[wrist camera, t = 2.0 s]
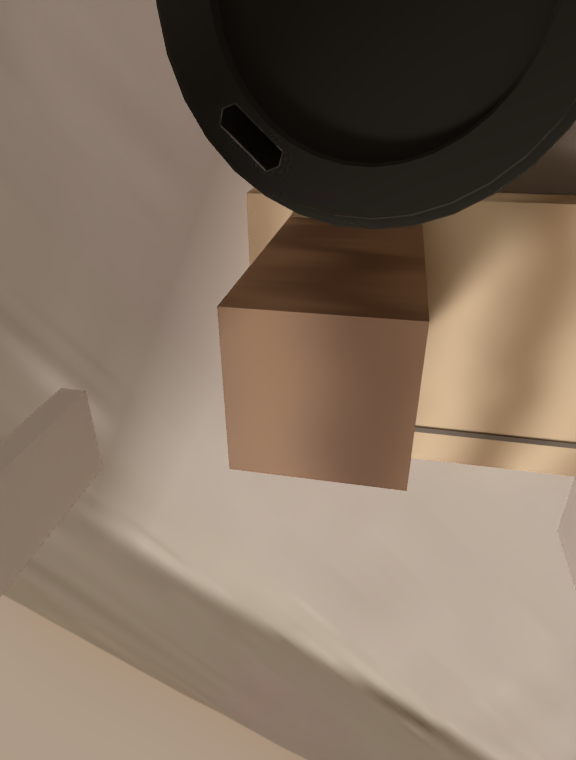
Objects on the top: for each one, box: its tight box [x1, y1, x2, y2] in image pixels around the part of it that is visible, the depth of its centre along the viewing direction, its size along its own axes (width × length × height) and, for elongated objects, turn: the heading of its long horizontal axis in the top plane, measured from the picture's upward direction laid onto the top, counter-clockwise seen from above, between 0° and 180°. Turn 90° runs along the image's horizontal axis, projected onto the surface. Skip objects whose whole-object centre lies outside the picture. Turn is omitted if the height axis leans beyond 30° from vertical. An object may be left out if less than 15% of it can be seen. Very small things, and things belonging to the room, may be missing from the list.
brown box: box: [217, 217, 429, 491], centre depth 23 cm, size 6×12×11 cm, turn 0°
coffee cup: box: [156, 0, 576, 230], centre depth 16 cm, size 10×10×15 cm
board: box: [247, 187, 576, 476], centre depth 27 cm, size 26×14×2 cm, turn 90°
